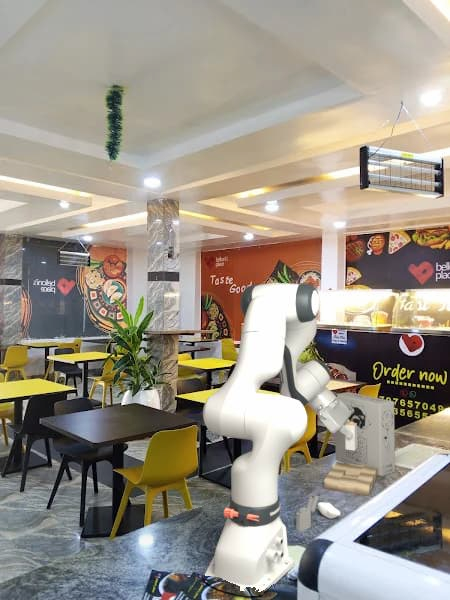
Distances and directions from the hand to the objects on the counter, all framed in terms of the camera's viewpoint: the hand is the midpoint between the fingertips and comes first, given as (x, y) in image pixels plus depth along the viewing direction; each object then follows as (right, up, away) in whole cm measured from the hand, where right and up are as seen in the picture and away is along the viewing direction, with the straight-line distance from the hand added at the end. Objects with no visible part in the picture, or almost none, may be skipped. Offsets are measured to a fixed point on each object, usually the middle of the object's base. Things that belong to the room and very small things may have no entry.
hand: (353, 434), depth 157 cm
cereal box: (+8, -16, +16) cm, 24 cm away
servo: (0, -5, 0) cm, 5 cm away
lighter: (-20, -16, -30) cm, 40 cm away
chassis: (0, -16, 0) cm, 16 cm away
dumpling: (-13, -16, -25) cm, 32 cm away
